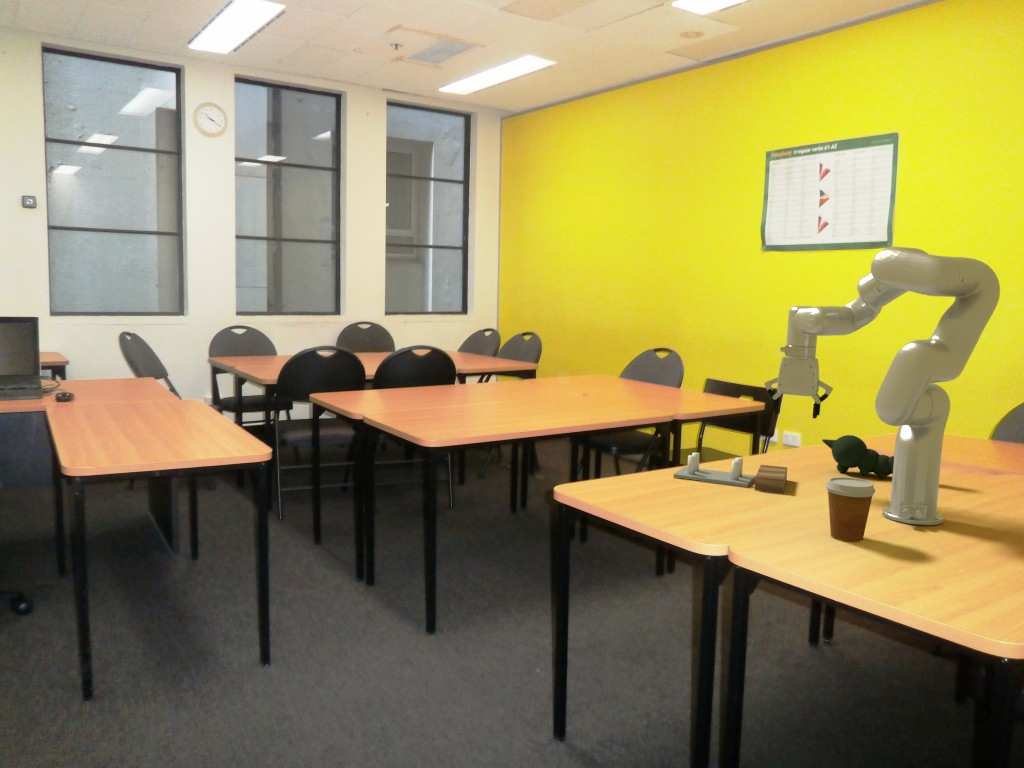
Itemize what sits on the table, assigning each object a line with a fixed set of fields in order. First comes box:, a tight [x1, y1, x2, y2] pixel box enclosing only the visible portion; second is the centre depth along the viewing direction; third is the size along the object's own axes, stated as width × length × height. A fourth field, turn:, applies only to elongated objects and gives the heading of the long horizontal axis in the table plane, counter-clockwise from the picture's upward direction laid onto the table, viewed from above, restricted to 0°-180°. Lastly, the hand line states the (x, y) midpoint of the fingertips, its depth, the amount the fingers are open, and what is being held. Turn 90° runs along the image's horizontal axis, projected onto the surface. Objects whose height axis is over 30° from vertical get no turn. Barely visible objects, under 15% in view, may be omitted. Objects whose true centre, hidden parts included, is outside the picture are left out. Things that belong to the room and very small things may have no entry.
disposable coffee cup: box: [825, 476, 876, 543], centre depth 160 cm, size 10×10×12 cm
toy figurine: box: [821, 434, 894, 480], centre depth 218 cm, size 9×19×25 cm
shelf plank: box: [754, 464, 788, 494], centre depth 205 cm, size 16×7×4 cm, turn 157°
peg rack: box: [673, 452, 756, 488], centre depth 211 cm, size 11×20×6 cm, turn 62°
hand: (795, 415), depth 205 cm, fingers open, 9 cm apart
